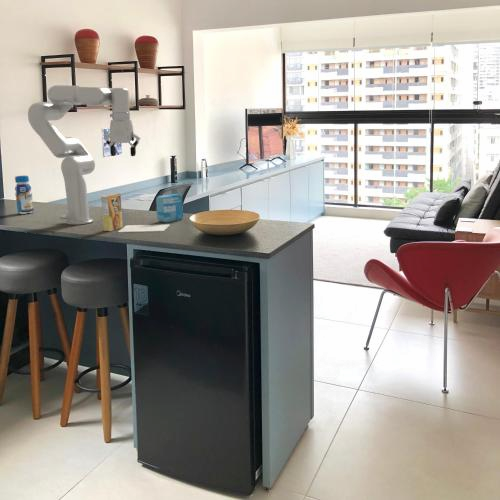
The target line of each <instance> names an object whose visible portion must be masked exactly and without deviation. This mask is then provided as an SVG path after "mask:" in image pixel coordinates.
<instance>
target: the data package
mask: <svg viewBox="0 0 500 500" xmlns="http://www.w3.org/2000/svg"><path fill="white" fill-rule="evenodd" d="M155 201H156V202H155V203H156V216H157V221H158V222H160V223H161V222H162V223H171V222H175V221H180V220H183V217H184V210H183V209H184V208H183V207H184V206H183V196H182V194H176V193H172V194H165V195H158V196H157V197H156V199H155Z"/></svg>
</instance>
